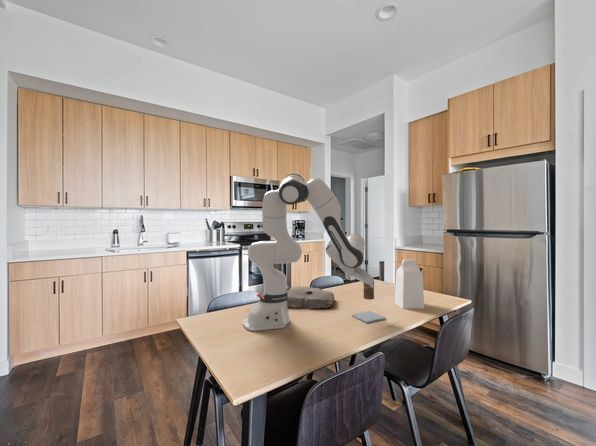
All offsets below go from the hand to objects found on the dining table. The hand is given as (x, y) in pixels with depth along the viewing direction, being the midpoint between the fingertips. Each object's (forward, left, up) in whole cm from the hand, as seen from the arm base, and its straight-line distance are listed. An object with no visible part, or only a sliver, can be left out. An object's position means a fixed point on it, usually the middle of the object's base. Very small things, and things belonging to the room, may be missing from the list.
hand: (369, 285), depth 136 cm
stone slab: (-13, +40, -17) cm, 45 cm away
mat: (0, +1, -16) cm, 16 cm away
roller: (-1, 0, -6) cm, 6 cm away
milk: (+34, +6, -17) cm, 38 cm away
